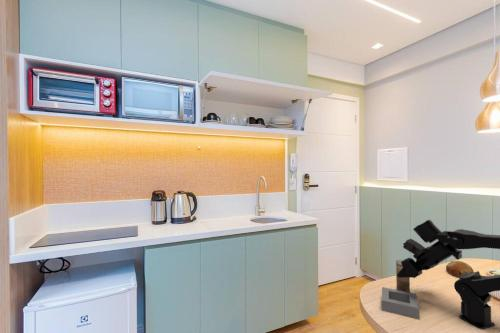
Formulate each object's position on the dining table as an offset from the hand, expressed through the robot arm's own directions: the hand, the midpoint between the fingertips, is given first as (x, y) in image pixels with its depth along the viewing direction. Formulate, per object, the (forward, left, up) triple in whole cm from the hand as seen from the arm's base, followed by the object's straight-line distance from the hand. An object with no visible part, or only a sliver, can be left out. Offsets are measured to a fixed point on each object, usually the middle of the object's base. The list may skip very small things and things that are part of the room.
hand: (403, 273), depth 98 cm
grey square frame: (-7, +10, -8) cm, 14 cm away
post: (0, 0, -8) cm, 8 cm away
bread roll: (+6, -40, -8) cm, 41 cm away
